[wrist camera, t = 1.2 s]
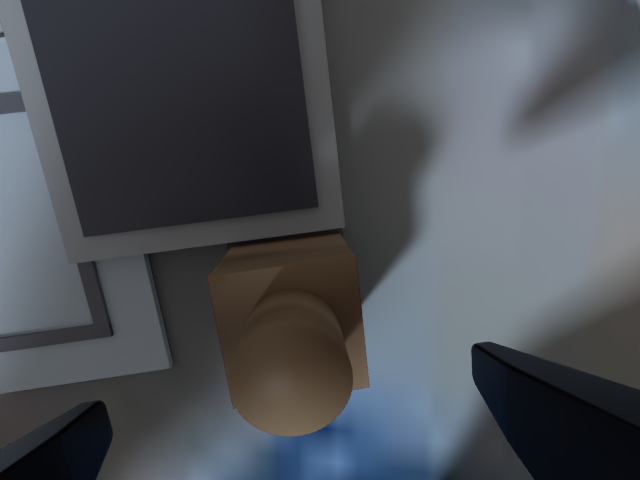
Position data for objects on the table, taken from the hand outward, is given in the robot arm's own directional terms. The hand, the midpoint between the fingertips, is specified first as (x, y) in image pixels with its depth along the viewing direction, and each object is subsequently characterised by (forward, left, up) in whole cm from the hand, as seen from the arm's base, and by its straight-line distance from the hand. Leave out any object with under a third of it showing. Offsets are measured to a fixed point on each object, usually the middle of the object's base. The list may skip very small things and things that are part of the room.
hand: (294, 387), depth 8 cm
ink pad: (+8, +3, -7) cm, 11 cm away
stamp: (0, 0, -8) cm, 8 cm away
